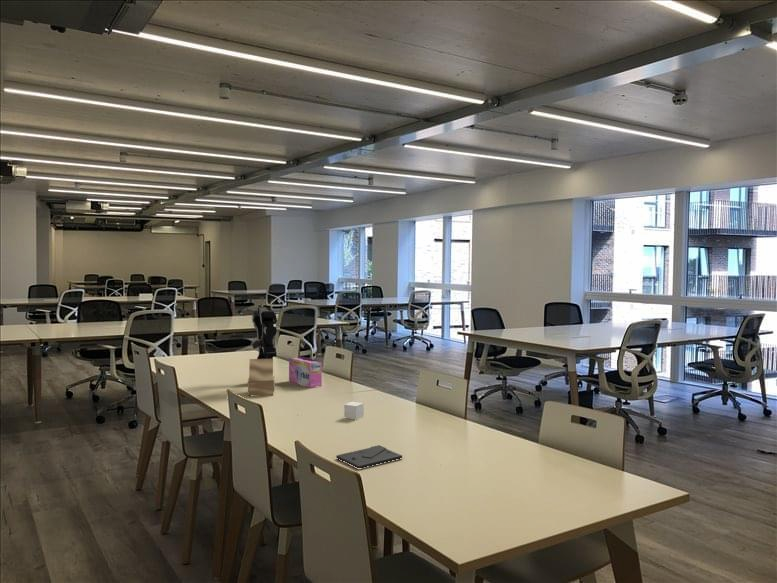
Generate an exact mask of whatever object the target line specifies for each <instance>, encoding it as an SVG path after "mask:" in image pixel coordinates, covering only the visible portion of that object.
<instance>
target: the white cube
mask: <svg viewBox="0 0 777 583" xmlns="http://www.w3.org/2000/svg"><path fill="white" fill-rule="evenodd" d="M364 405H365V404H364V402H357V401H350V402H347V403H345V404H344V405H343V409H344V410H343V411H344V412H343V413H344V415H343V416H344V417H346V418H345V419H347V418H351V419H350V420H353V419H357V420H359V419H361V418H360V417H362V418H364V417H365V416H364ZM363 416H364V417H363ZM358 418H359V419H358Z"/></svg>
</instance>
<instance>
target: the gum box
mask: <svg viewBox="0 0 777 583" xmlns="http://www.w3.org/2000/svg"><path fill="white" fill-rule="evenodd" d="M288 360H289V361H288V363H289V364H288V382H289V381H291V382H290V383H292V382H294V383H293V384H296V383H297V384H296V385H299V384H301V385H300V386H302V385H304V386H303V387H305V386H307V387H306V388H308V387H313V388H317V387H316V386H319V387H322V384H323V382H322V381H323V380H322V377H323V376H322V374H323V372H322V368H323V362H322V361H321V360H317V359H313V358H308V357H305V356H297V357H293V358H292V357H288Z"/></svg>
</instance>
